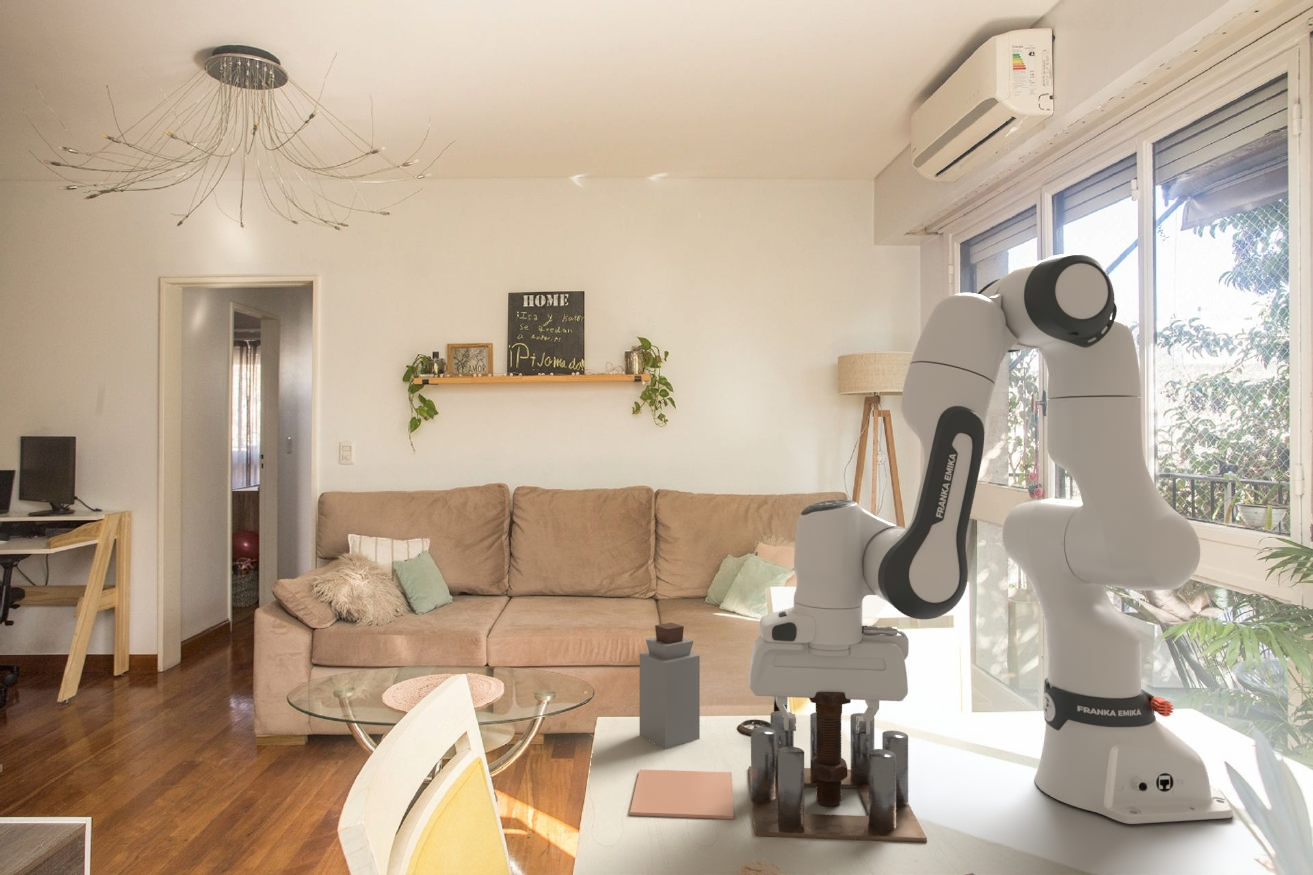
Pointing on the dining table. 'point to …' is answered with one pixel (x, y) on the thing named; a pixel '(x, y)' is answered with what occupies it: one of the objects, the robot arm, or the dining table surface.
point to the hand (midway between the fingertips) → (826, 730)
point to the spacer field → (871, 772)
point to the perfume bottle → (669, 688)
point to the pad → (683, 794)
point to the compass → (755, 722)
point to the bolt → (829, 747)
